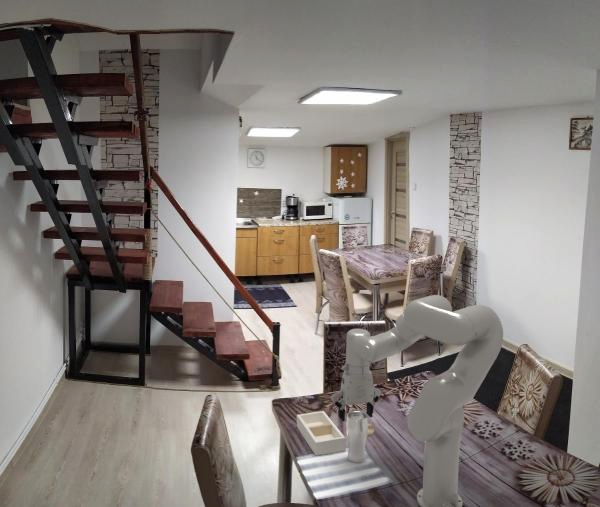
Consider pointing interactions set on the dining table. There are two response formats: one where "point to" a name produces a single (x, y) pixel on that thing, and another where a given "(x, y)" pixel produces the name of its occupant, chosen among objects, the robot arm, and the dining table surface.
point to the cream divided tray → (320, 433)
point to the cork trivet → (370, 430)
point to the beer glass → (356, 435)
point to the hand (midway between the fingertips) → (355, 417)
